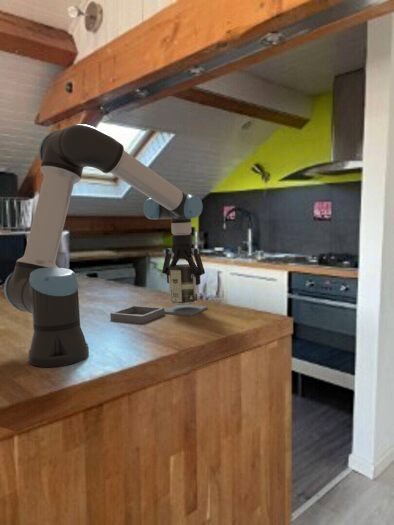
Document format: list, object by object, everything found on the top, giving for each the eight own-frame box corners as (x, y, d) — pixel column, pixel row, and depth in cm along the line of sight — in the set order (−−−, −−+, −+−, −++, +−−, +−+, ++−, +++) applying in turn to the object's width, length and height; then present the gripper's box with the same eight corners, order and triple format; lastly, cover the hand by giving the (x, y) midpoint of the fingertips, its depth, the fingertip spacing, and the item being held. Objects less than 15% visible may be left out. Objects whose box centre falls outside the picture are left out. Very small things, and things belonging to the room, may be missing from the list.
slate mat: (191, 315, 154) (191, 313, 154) (161, 313, 160) (161, 311, 160) (207, 308, 166) (207, 306, 166) (178, 306, 172) (178, 304, 172)
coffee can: (200, 299, 167) (198, 263, 165) (194, 305, 157) (193, 267, 155) (174, 299, 169) (173, 264, 167) (167, 304, 159) (166, 267, 157)
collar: (142, 323, 146) (142, 316, 145) (110, 320, 152) (110, 313, 152) (164, 314, 158) (164, 307, 158) (134, 311, 164) (133, 305, 164)
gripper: (213, 233, 158) (214, 292, 160) (161, 234, 168) (164, 289, 171) (203, 234, 151) (205, 296, 154) (151, 235, 162) (153, 292, 164)
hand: (183, 292), depth 162 cm, fingers closed on coffee can, 10 cm apart
